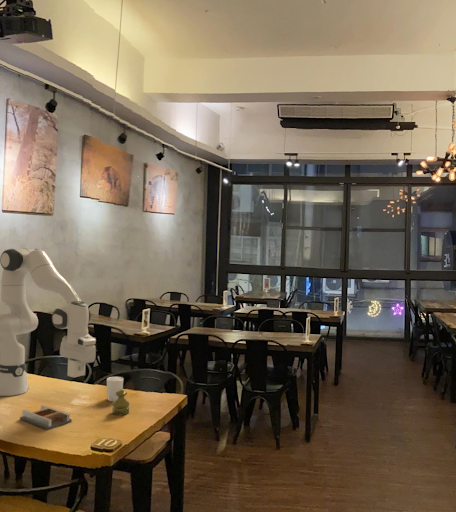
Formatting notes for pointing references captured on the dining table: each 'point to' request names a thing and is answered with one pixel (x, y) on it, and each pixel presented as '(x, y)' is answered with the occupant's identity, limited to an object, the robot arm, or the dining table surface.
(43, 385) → the dining table surface
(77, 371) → the block
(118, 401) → the olive green tiered piece
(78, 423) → the dining table surface
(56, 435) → the dining table surface
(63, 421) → the rail plate
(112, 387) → the white cup
